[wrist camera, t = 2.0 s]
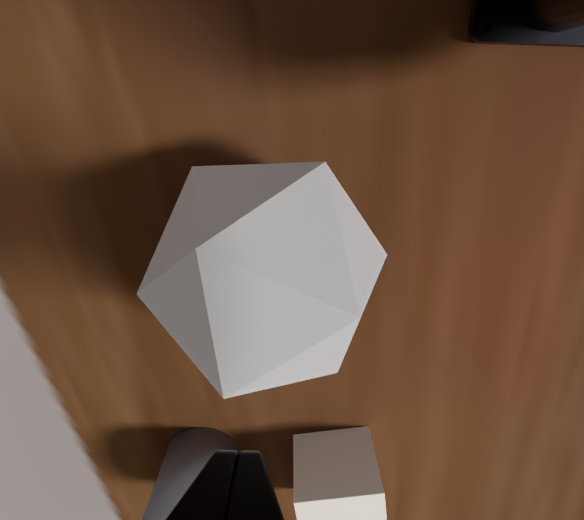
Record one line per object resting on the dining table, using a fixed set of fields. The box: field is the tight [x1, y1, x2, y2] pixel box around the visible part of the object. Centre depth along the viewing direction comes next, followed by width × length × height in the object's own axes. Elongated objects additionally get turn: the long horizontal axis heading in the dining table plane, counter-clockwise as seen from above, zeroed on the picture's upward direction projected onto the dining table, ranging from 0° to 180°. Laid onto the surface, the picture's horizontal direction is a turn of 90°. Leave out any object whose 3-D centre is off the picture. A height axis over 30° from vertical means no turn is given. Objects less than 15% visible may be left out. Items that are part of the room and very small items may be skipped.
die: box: [137, 162, 387, 399], centre depth 16 cm, size 8×9×10 cm
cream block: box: [293, 426, 387, 520], centre depth 23 cm, size 4×4×4 cm
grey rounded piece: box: [142, 427, 240, 520], centre depth 23 cm, size 4×4×4 cm
